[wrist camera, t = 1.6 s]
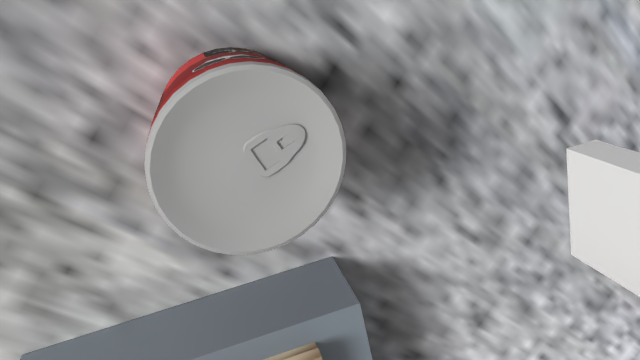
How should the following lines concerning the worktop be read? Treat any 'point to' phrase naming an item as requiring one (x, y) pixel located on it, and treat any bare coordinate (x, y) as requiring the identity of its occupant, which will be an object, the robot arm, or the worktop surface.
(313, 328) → the dock
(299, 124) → the canned food
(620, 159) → the robot arm
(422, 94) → the worktop surface
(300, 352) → the pallet
